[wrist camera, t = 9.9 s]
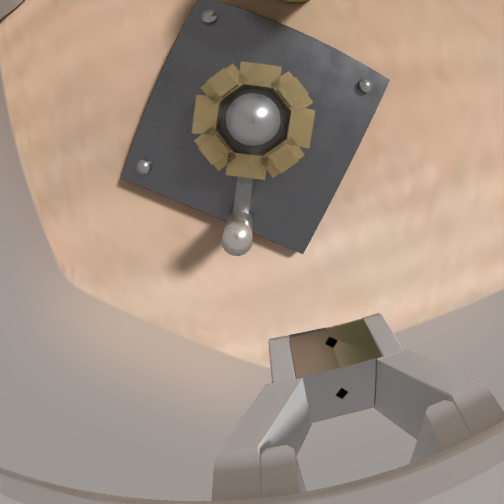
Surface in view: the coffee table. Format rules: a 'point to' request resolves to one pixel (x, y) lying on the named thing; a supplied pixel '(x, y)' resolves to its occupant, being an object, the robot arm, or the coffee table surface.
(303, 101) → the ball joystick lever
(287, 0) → the plant pot
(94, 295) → the coffee table surface
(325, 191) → the flange plate
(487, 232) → the coffee table surface
